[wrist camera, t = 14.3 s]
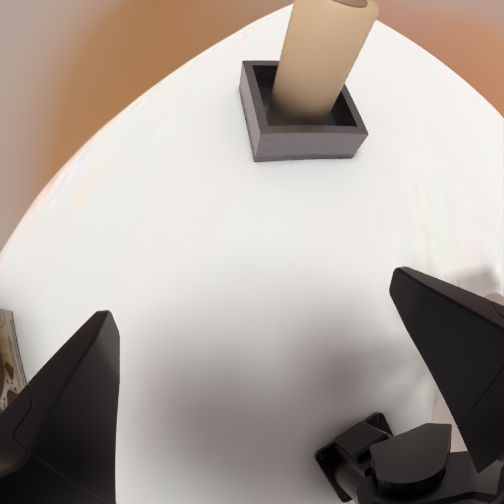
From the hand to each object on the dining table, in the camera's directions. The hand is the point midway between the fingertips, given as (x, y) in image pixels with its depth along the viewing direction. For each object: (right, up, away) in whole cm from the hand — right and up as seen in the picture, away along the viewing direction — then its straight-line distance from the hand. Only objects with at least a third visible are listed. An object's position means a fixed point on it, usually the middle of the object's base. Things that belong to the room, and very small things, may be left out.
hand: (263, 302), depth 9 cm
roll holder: (+4, +14, +19) cm, 24 cm away
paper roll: (+4, +15, +18) cm, 24 cm away
